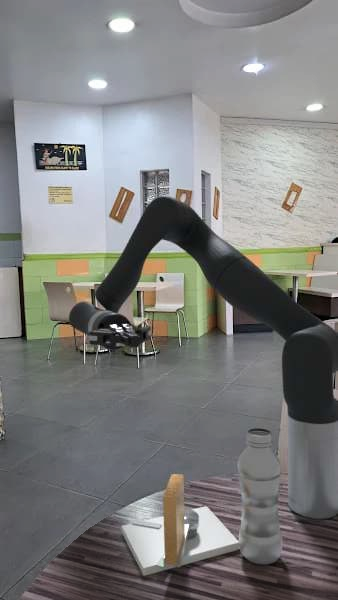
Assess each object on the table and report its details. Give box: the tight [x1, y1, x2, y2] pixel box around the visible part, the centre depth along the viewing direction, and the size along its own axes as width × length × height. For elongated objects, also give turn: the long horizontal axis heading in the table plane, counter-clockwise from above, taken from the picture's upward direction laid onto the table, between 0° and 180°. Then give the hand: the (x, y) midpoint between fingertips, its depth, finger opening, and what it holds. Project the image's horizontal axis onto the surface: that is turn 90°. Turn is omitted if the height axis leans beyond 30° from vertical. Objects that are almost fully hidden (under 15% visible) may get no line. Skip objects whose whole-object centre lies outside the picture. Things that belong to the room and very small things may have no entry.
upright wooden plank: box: [162, 473, 199, 568], centre depth 74 cm, size 14×5×11 cm, turn 169°
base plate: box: [121, 505, 240, 577], centre depth 78 cm, size 16×14×2 cm
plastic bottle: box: [236, 427, 284, 566], centre depth 73 cm, size 6×7×20 cm
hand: (135, 341), depth 84 cm, fingers closed
